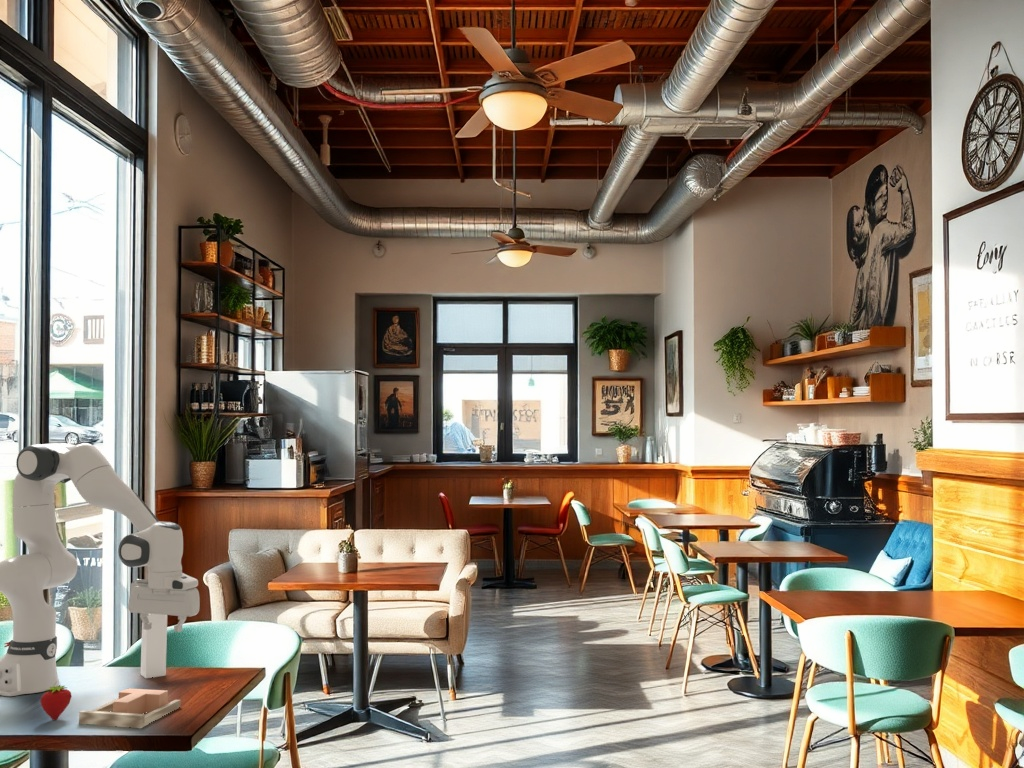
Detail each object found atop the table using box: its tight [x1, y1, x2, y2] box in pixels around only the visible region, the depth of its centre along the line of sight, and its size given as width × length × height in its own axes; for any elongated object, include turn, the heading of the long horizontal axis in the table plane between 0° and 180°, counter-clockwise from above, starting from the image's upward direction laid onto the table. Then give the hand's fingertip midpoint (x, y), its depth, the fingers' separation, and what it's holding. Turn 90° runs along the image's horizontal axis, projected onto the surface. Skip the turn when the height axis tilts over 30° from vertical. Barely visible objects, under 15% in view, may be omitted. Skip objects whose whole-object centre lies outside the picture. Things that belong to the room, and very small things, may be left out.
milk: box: [140, 614, 168, 679], centre depth 276 cm, size 6×6×22 cm
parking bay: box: [78, 697, 181, 729], centre depth 235 cm, size 18×18×3 cm
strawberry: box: [40, 683, 72, 721], centre depth 231 cm, size 6×8×10 cm
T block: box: [112, 687, 169, 714], centre depth 235 cm, size 12×12×5 cm
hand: (162, 630), depth 250 cm, fingers open, 8 cm apart
